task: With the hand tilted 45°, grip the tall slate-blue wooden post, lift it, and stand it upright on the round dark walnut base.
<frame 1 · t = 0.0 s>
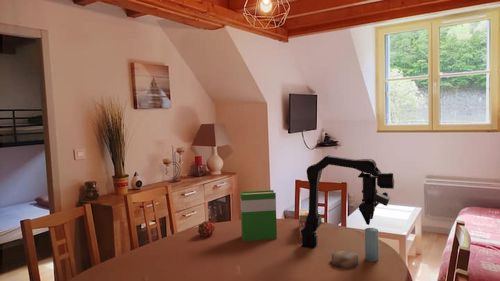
hand: (369, 221, 167), 15 cm above the table, tool pointing down, fingers open, 9 cm apart
stack of blocks: (306, 232, 202), on the table
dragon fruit: (206, 235, 201), on the table
post: (371, 258, 162), on the table
hardback book: (259, 237, 195), on the table
walnut base: (344, 262, 159), on the table
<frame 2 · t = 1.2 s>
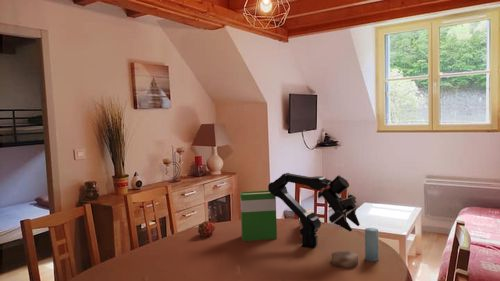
hand: (355, 228, 166), 12 cm above the table, tool tilted 40°, fingers open, 9 cm apart
hardback book: (259, 237, 195), on the table, touching arm
everything else where it was.
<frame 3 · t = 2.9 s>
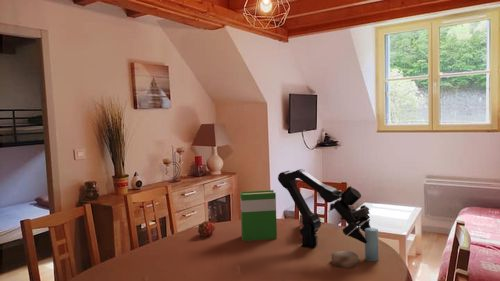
hand: (370, 239, 162), 8 cm above the table, tool tilted 45°, fingers open, 9 cm apart
hardback book: (259, 237, 195), on the table
everything else where it was.
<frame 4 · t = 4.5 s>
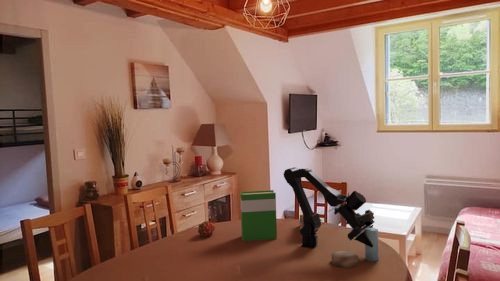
hand: (374, 244, 160), 7 cm above the table, tool tilted 45°, fingers closed on post, 5 cm apart
post: (371, 258, 162), on the table, touching gripper
everything else where it was.
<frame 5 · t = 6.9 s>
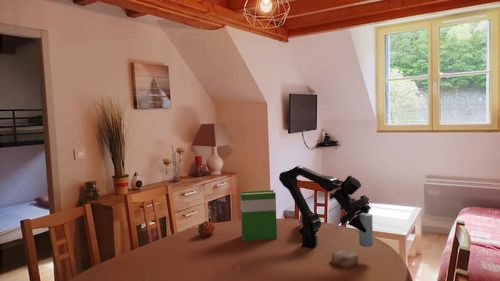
hand: (368, 230, 159), 13 cm above the table, tool tilted 45°, fingers closed on post, 5 cm apart
post: (365, 244, 160), point 7 cm above the table, touching gripper
when the fingers open (11 cm above the table, at t = 9.3 s): post drops 1 cm, resting on walnut base.
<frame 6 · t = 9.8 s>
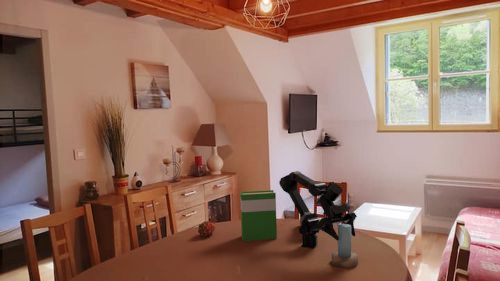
hand: (346, 238, 157), 11 cm above the table, tool tilted 45°, fingers open, 9 cm apart
post: (344, 255, 159), point 3 cm above the table, touching walnut base
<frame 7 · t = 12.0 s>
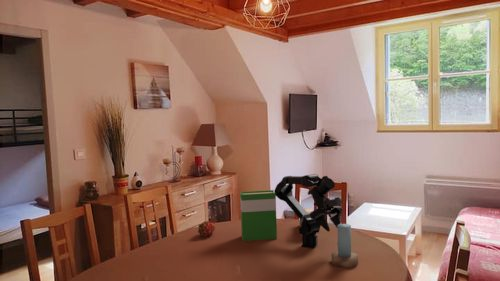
hand: (334, 230, 165), 12 cm above the table, tool tilted 35°, fingers open, 9 cm apart
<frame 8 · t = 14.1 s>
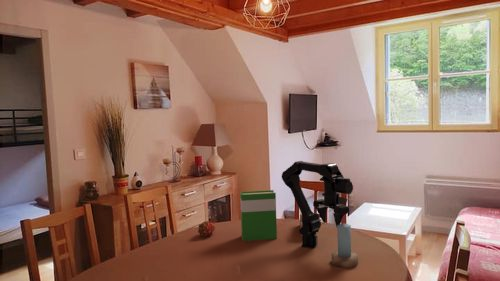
hand: (330, 224, 170), 13 cm above the table, tool pointing down, fingers open, 9 cm apart
at the end: post 0.1 cm off-centre on the walnut base, point 3.0 cm above the walnut base's base; post tilted 0°; the gripper is holding nothing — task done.
